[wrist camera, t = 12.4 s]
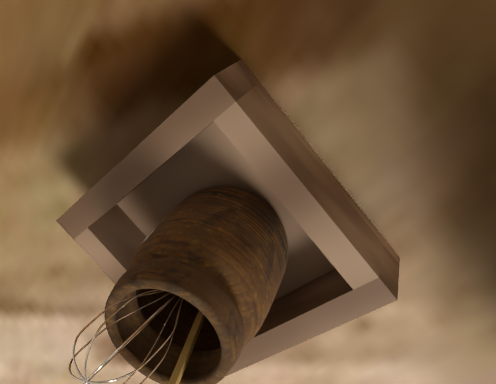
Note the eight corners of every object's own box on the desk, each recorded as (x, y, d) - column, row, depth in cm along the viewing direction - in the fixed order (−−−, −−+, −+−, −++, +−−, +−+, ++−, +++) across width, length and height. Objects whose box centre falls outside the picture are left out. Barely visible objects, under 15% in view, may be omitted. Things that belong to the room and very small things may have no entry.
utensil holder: (286, 180, 20) (153, 406, 10) (298, 299, 23) (201, 574, 13) (164, 179, 22) (-49, 367, 12) (188, 288, 25) (28, 520, 15)
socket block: (399, 252, 21) (397, 300, 18) (231, 336, 27) (208, 383, 24) (244, 57, 20) (214, 74, 17) (98, 189, 25) (56, 220, 22)
